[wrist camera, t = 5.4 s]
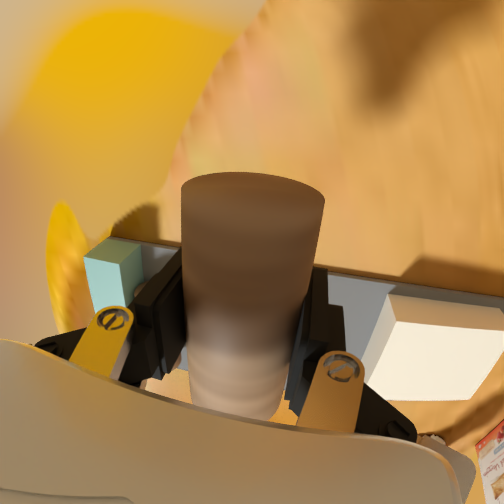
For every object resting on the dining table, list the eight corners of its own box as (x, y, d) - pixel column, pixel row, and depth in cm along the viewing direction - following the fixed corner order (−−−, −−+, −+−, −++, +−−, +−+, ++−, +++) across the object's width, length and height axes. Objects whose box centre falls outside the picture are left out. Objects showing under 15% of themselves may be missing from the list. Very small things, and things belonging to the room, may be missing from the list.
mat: (109, 236, 29) (106, 238, 29) (517, 299, 24) (520, 302, 24) (129, 350, 36) (127, 353, 36) (458, 396, 31) (459, 400, 31)
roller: (196, 168, 10) (163, 208, 7) (312, 178, 10) (340, 223, 7) (197, 356, 15) (184, 424, 11) (278, 362, 15) (282, 431, 11)
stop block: (106, 238, 29) (83, 256, 25) (140, 244, 28) (119, 264, 25) (127, 353, 36) (113, 375, 32) (155, 362, 35) (142, 385, 32)
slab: (387, 293, 26) (396, 321, 22) (499, 308, 24) (514, 331, 21) (356, 369, 30) (359, 398, 27) (460, 375, 29) (469, 399, 25)
